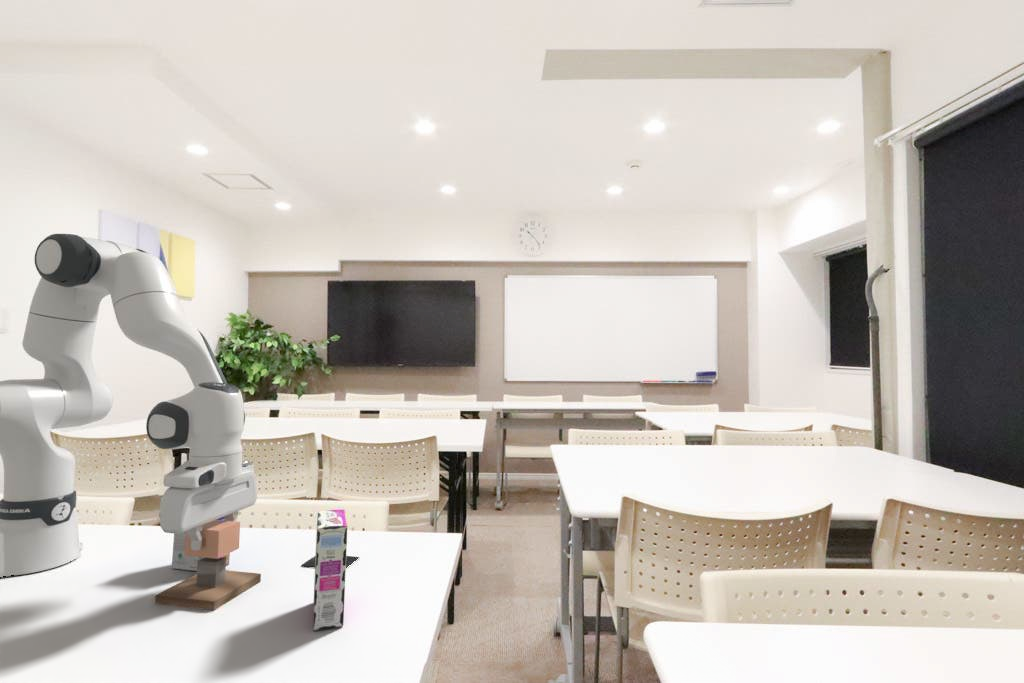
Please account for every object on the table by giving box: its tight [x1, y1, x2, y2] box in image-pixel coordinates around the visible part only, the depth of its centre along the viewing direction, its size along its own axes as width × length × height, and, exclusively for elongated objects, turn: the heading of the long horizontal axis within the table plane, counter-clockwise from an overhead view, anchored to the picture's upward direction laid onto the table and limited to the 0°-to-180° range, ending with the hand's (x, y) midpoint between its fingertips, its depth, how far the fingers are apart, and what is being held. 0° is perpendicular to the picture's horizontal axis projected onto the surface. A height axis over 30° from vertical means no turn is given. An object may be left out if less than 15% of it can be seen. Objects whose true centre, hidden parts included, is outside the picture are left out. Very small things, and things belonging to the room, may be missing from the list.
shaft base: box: [154, 557, 262, 611], centre depth 95 cm, size 12×12×6 cm
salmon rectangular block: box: [185, 520, 241, 559], centre depth 95 cm, size 5×7×5 cm
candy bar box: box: [312, 509, 348, 632], centre depth 87 cm, size 11×5×16 cm, turn 21°
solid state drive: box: [301, 555, 360, 569], centre depth 109 cm, size 7×10×1 cm
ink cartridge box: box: [171, 517, 231, 572], centre depth 107 cm, size 10×6×14 cm, turn 78°
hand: (212, 542), depth 95 cm, fingers closed on salmon rectangular block, 5 cm apart
